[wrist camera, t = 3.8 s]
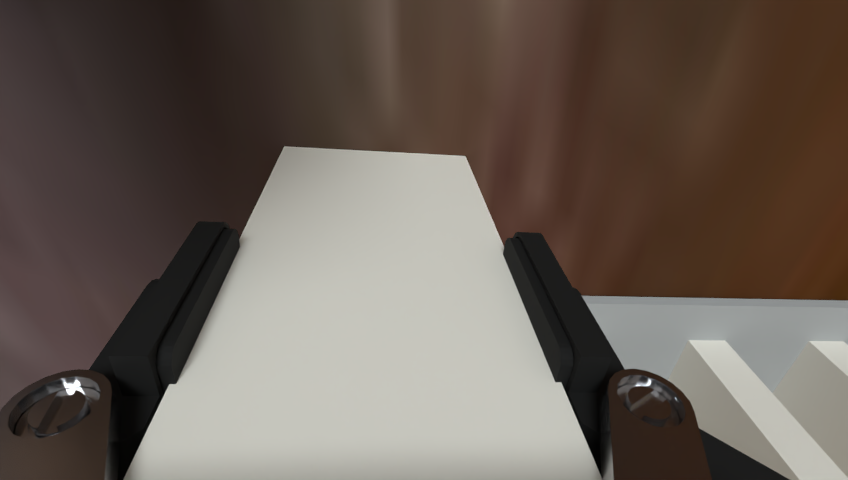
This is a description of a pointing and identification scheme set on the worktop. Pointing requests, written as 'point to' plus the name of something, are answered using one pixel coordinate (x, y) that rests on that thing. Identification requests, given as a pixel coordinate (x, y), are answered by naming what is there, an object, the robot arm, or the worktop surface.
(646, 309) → the mat
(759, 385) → the domino
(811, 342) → the domino
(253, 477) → the domino
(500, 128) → the worktop surface
